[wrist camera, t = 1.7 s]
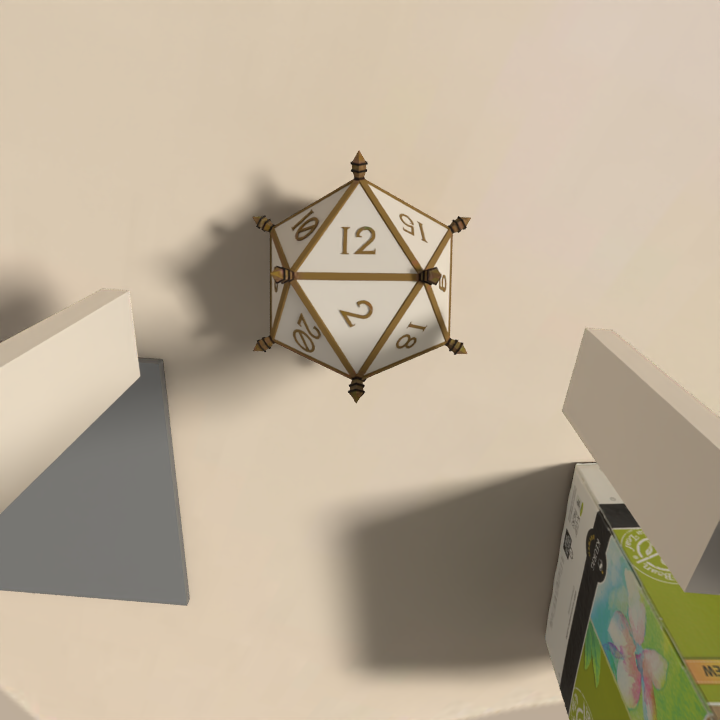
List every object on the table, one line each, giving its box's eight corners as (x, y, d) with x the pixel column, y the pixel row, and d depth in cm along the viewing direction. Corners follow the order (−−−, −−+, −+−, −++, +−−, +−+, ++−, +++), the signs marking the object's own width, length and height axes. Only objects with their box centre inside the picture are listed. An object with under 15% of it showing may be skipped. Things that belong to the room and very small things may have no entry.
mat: (-182, 331, 25) (-192, 335, 25) (162, 359, 25) (158, 363, 25) (-75, 577, 33) (-81, 583, 33) (189, 599, 33) (186, 605, 32)
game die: (379, 277, 27) (377, 455, 22) (233, 210, 23) (193, 412, 18) (508, 172, 20) (544, 393, 16) (335, 49, 16) (313, 302, 11)
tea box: (564, 459, 27) (745, 779, 14) (753, 454, 27) (1133, 783, 13) (538, 637, 33) (645, 975, 20) (689, 636, 33) (903, 983, 20)
